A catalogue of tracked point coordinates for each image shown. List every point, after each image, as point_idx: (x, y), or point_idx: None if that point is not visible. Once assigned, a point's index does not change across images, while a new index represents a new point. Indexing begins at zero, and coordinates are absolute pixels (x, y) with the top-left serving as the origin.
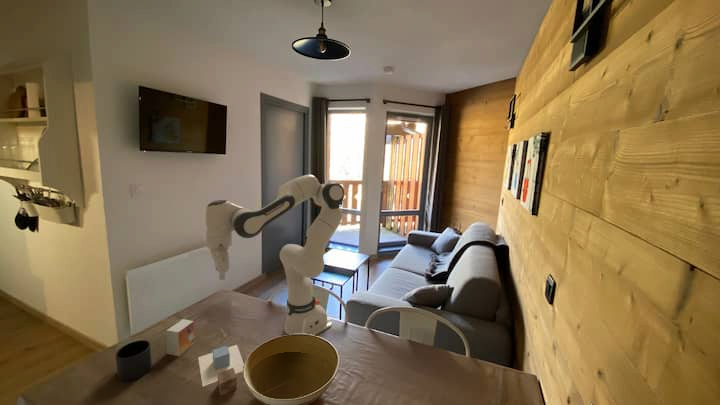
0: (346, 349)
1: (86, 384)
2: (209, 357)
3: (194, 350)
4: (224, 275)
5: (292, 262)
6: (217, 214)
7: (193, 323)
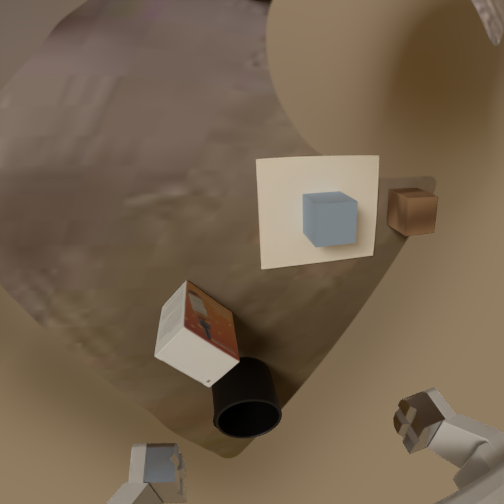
0: None
1: None
2: (278, 241)
3: (219, 278)
4: (451, 412)
5: None
6: None
7: (186, 323)
